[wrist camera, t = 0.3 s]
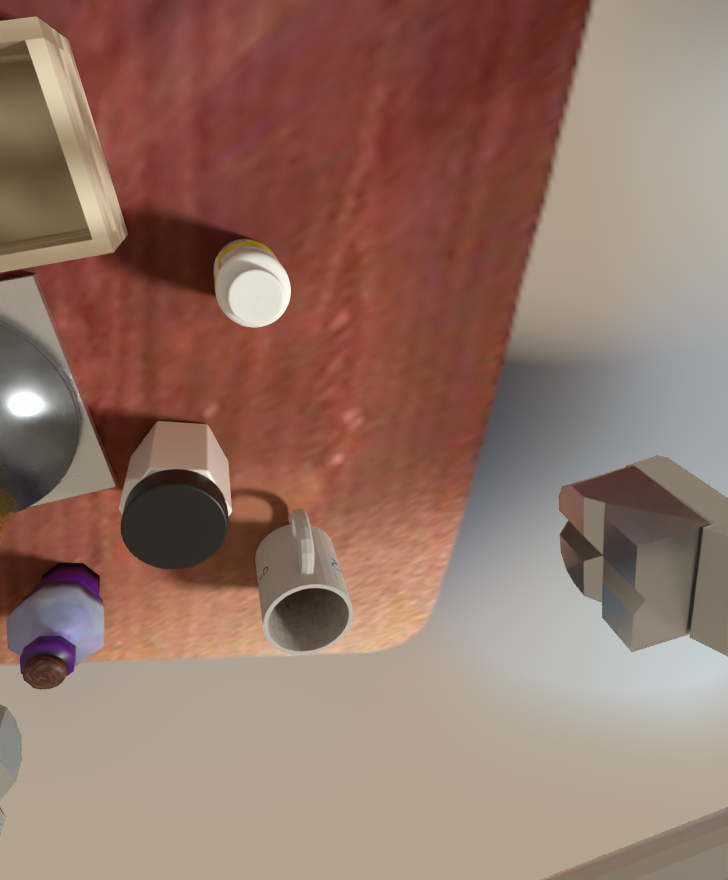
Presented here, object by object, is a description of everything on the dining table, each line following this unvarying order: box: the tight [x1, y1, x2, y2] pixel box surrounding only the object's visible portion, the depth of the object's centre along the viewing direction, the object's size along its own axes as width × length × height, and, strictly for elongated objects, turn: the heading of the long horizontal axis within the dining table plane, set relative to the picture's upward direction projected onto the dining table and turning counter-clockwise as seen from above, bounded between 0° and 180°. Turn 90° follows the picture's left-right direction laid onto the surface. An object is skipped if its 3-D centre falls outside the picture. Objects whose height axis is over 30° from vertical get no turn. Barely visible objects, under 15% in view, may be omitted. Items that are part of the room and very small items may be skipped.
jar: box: [119, 421, 232, 569], centre depth 52 cm, size 9×8×12 cm
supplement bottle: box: [213, 239, 291, 327], centre depth 46 cm, size 6×6×10 cm
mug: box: [255, 509, 353, 655], centre depth 60 cm, size 12×9×10 cm
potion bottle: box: [6, 563, 104, 689], centre depth 55 cm, size 9×9×12 cm
